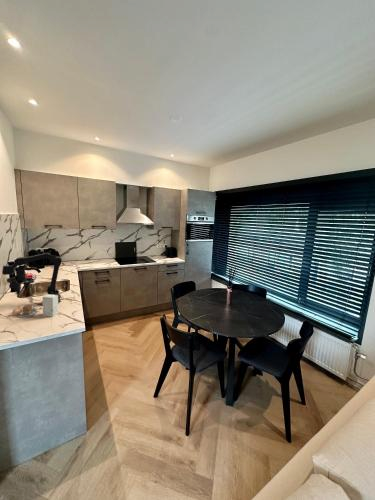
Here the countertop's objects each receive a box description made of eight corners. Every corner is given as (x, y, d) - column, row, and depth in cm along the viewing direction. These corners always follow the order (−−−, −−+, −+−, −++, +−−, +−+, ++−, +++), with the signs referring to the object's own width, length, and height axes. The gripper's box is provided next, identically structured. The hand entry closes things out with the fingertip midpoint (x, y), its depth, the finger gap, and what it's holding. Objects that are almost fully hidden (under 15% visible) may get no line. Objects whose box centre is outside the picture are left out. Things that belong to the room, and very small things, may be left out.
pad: (38, 311, 159) (38, 310, 158) (30, 317, 150) (30, 316, 150) (25, 312, 157) (25, 311, 157) (17, 317, 149) (17, 316, 149)
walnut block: (26, 312, 155) (26, 304, 154) (32, 312, 156) (31, 304, 155) (23, 314, 151) (22, 307, 150) (29, 314, 152) (28, 307, 151)
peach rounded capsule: (25, 310, 160) (25, 305, 160) (22, 312, 156) (22, 307, 156) (20, 310, 160) (19, 305, 159) (16, 313, 156) (16, 307, 155)
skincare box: (42, 316, 152) (41, 296, 150) (48, 312, 158) (47, 293, 156) (53, 317, 151) (52, 297, 149) (59, 313, 157) (58, 294, 155)
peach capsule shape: (21, 313, 155) (21, 308, 155) (17, 315, 151) (17, 310, 151) (15, 313, 155) (15, 308, 154) (11, 316, 151) (11, 310, 150)
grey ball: (38, 309, 162) (37, 306, 161) (35, 311, 159) (35, 307, 158) (33, 310, 161) (33, 306, 161) (31, 311, 158) (31, 308, 158)
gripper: (17, 270, 170) (19, 288, 172) (0, 276, 152) (2, 297, 154) (32, 270, 171) (33, 288, 174) (16, 276, 153) (18, 297, 155)
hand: (22, 292), depth 164 cm, fingers open, 9 cm apart
